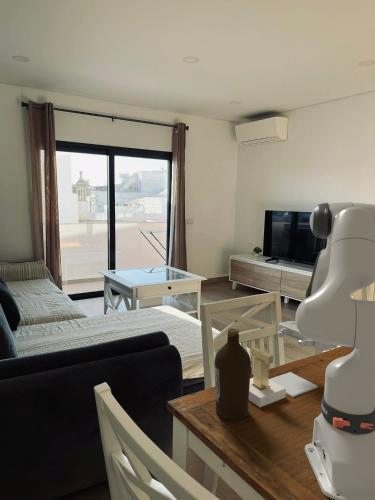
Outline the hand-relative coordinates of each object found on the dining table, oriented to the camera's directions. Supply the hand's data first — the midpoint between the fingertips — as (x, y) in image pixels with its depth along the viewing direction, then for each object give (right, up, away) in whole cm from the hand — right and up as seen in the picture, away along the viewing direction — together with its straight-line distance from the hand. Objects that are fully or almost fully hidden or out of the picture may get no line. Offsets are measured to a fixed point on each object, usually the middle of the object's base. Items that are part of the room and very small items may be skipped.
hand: (288, 339), depth 121 cm
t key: (-11, -17, -5) cm, 20 cm away
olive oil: (-21, -18, -14) cm, 31 cm away
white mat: (+1, -16, +2) cm, 16 cm away
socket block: (-11, -17, -5) cm, 20 cm away
